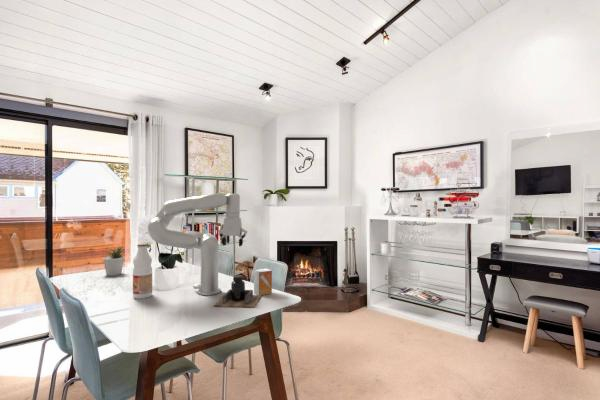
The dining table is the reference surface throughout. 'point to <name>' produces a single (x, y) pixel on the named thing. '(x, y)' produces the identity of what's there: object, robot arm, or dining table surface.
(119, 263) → the potted plant
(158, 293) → the dining table surface
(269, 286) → the small box
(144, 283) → the fruit juice
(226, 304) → the dock
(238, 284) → the supplement bottle
